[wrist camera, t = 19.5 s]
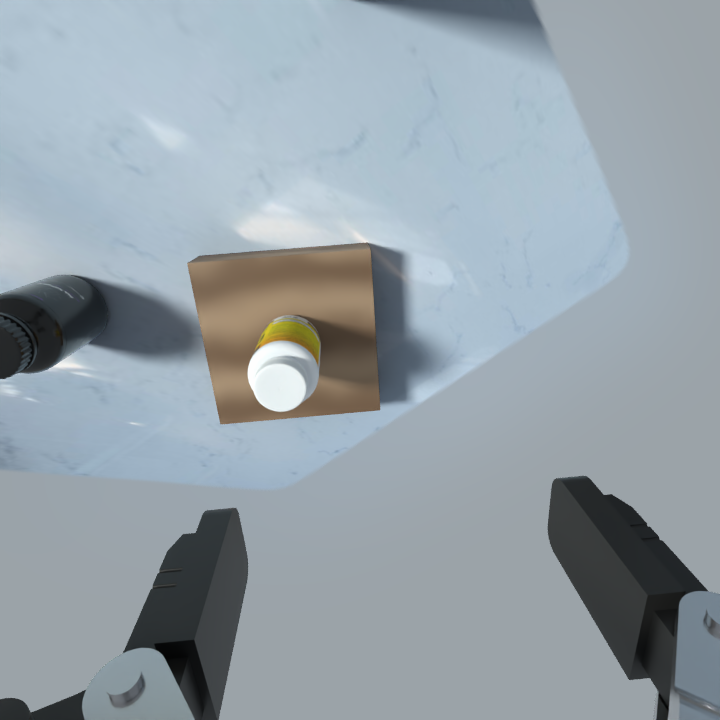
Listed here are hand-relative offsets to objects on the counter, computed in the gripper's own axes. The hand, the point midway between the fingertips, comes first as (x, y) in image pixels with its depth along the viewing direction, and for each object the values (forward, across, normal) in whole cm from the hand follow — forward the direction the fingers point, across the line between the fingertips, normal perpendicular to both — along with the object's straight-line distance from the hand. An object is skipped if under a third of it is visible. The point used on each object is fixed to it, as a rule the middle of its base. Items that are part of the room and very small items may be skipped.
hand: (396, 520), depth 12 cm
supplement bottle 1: (+36, +27, +2) cm, 45 cm away
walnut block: (+36, +6, +6) cm, 37 cm away
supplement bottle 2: (+32, +6, +6) cm, 33 cm away
